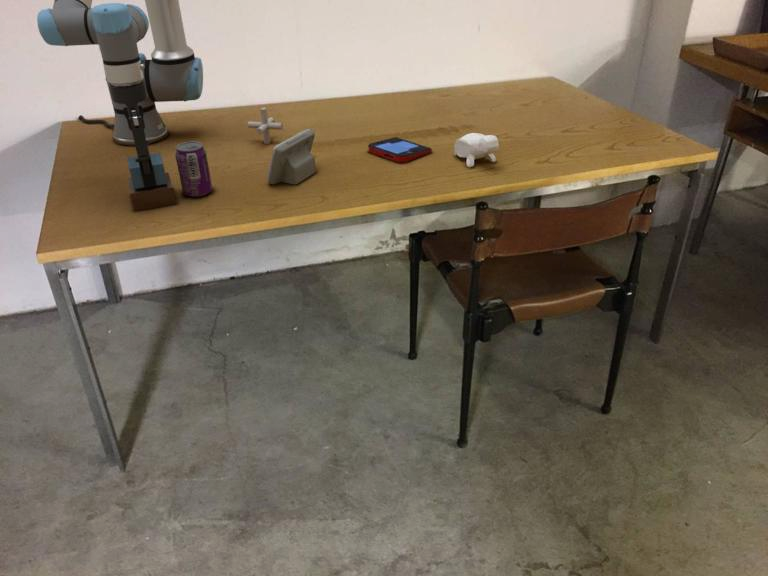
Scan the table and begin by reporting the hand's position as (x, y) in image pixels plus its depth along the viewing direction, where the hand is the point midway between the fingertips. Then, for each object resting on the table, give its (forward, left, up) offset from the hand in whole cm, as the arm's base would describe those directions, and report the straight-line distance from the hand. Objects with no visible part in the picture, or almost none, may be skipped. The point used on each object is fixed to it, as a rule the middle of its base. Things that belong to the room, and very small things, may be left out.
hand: (149, 179), depth 151 cm
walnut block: (0, 0, -5) cm, 5 cm away
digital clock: (+22, +27, -5) cm, 35 cm away
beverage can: (+7, +8, -5) cm, 12 cm away
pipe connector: (+1, +44, -5) cm, 44 cm away
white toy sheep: (+61, +57, -5) cm, 84 cm away
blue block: (0, 0, 0) cm, 0 cm away
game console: (+39, +54, -5) cm, 67 cm away
